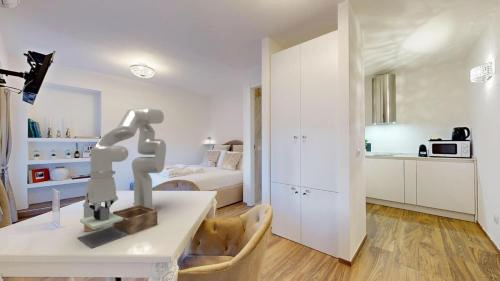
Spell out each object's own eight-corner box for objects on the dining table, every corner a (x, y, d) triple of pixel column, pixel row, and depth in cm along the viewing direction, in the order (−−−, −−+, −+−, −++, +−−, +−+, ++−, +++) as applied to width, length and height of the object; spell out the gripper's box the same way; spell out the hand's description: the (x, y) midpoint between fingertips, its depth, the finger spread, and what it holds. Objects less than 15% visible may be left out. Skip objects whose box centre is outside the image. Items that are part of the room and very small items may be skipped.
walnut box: (129, 234, 91) (129, 218, 91) (113, 226, 100) (112, 212, 100) (157, 224, 102) (157, 210, 102) (139, 217, 111) (139, 204, 111)
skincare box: (83, 232, 94) (83, 205, 94) (85, 228, 98) (85, 203, 98) (99, 229, 97) (99, 203, 97) (101, 226, 101) (101, 201, 100)
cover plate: (93, 229, 80) (93, 215, 81) (80, 221, 88) (80, 208, 88) (123, 220, 90) (123, 207, 90) (109, 214, 97) (109, 202, 97)
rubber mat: (77, 238, 88) (77, 237, 88) (111, 227, 99) (111, 226, 99) (91, 248, 80) (91, 247, 80) (127, 235, 90) (127, 234, 90)
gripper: (117, 172, 98) (118, 211, 98) (74, 177, 84) (74, 222, 84) (125, 173, 94) (125, 214, 93) (81, 178, 80) (81, 226, 80)
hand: (101, 217), depth 89 cm, fingers closed on cover plate, 2 cm apart
